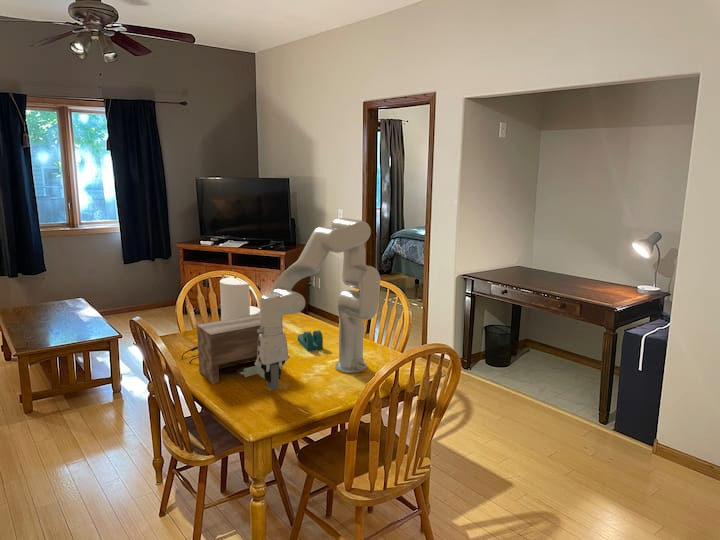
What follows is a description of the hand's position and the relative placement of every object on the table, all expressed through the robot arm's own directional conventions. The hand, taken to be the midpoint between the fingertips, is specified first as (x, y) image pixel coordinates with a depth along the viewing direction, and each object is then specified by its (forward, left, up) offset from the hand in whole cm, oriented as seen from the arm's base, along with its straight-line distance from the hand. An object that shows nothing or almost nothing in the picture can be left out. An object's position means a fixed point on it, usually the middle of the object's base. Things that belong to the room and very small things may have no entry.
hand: (272, 379), depth 190 cm
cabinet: (+27, 0, -6) cm, 28 cm away
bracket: (+37, -37, -6) cm, 53 cm away
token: (+24, 0, -6) cm, 25 cm away
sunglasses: (+49, +9, -6) cm, 50 cm away
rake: (+7, 0, -3) cm, 8 cm away
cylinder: (+59, -15, -6) cm, 62 cm away
